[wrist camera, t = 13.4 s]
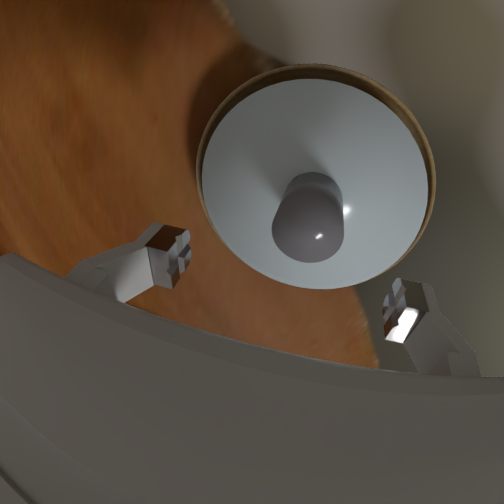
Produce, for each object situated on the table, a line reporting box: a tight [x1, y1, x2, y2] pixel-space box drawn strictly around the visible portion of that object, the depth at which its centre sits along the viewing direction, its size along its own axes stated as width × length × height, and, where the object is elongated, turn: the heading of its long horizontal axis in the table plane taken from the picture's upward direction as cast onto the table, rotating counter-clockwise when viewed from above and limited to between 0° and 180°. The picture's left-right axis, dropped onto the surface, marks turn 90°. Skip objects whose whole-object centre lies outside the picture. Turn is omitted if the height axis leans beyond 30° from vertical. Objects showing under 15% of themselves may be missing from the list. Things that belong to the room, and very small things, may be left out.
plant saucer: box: [196, 64, 436, 282], centre depth 16 cm, size 15×15×3 cm
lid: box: [202, 79, 428, 289], centre depth 14 cm, size 13×13×4 cm
